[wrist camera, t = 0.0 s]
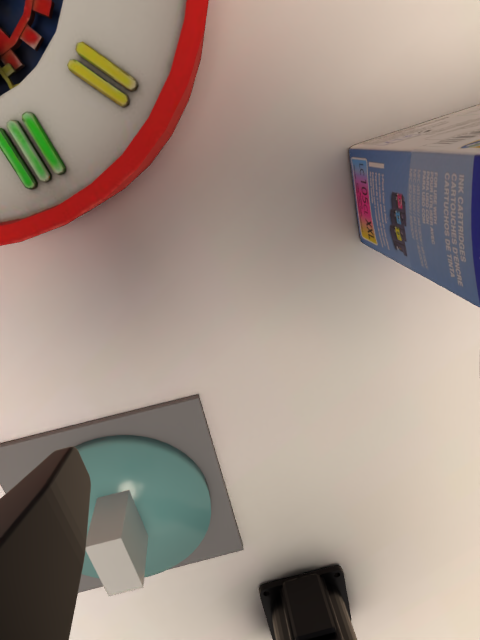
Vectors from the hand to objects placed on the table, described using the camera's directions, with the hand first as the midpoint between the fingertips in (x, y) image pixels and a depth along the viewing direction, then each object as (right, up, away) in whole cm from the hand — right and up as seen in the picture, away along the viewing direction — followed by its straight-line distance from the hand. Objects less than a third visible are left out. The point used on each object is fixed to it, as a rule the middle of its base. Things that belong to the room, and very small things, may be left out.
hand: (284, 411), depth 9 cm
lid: (-8, -10, +18) cm, 23 cm away
